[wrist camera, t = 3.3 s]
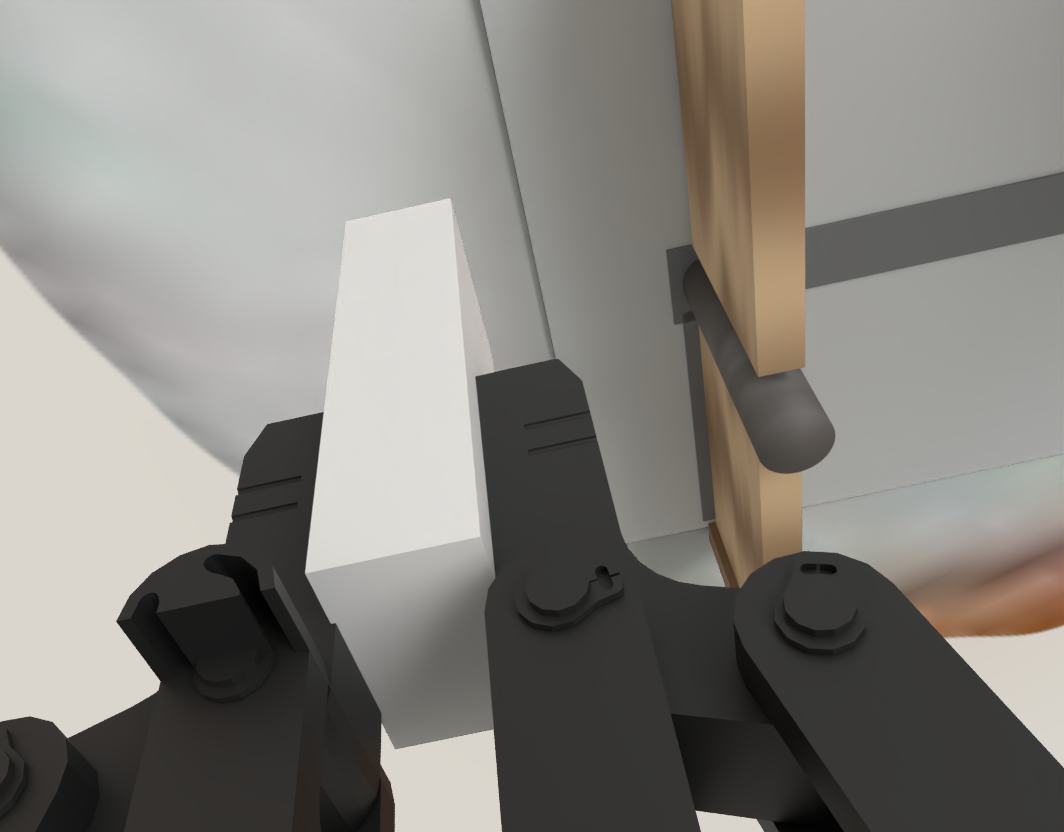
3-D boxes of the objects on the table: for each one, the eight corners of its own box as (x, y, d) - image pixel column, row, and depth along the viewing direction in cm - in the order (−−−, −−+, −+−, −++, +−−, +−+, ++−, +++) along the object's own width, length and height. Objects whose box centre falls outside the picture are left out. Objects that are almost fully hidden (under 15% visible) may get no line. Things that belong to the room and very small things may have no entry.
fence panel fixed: (679, 258, 29) (755, 422, 23) (741, 244, 29) (836, 405, 23) (707, 541, 38) (769, 721, 31) (755, 530, 37) (828, 709, 31)
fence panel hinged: (740, 235, 29) (825, 378, 23) (683, 248, 29) (753, 393, 23) (716, -235, 21) (834, -206, 15) (638, -217, 21) (726, -180, 15)
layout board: (1225, -249, 22) (1237, -249, 22) (1061, 448, 37) (1067, 455, 36) (464, -72, 23) (465, -69, 23) (595, 544, 37) (596, 552, 37)
